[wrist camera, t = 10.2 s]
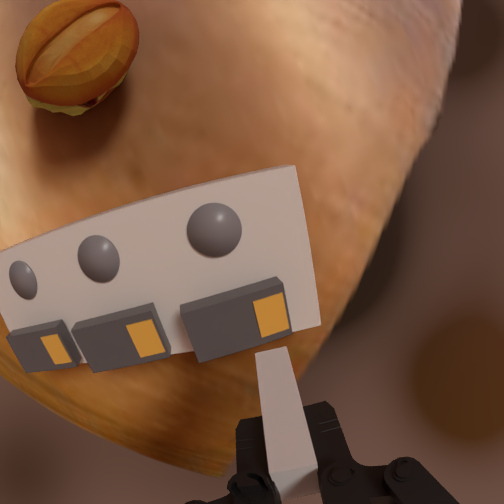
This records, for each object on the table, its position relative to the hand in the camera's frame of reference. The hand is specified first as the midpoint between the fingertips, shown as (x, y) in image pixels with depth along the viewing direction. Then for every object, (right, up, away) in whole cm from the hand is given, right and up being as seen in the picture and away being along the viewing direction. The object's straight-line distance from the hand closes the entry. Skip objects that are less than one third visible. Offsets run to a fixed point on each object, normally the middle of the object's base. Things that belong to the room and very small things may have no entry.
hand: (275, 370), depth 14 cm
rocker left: (-20, -3, +7) cm, 21 cm away
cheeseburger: (-15, +22, +5) cm, 27 cm away
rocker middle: (-11, -1, +7) cm, 13 cm away
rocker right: (-2, +1, +7) cm, 7 cm away
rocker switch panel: (-12, +4, +11) cm, 16 cm away
